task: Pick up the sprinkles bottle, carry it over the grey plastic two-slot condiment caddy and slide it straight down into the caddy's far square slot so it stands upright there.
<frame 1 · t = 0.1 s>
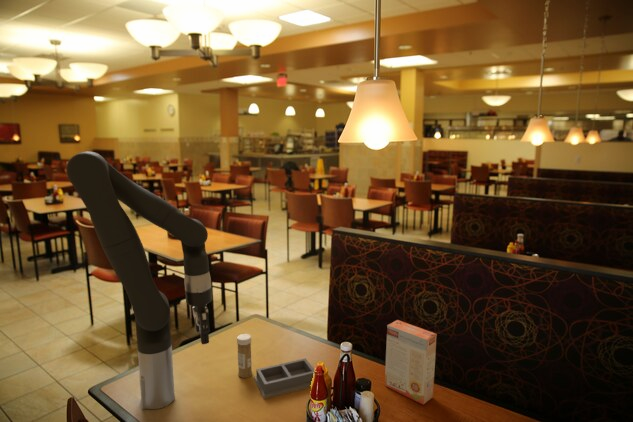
hand: (202, 337, 127), 17 cm above the table, tool pointing down, fingers open, 8 cm apart
sprinkles bottle: (245, 374, 138), on the table
caddy: (286, 382, 134), on the table
cracker box: (408, 392, 130), on the table
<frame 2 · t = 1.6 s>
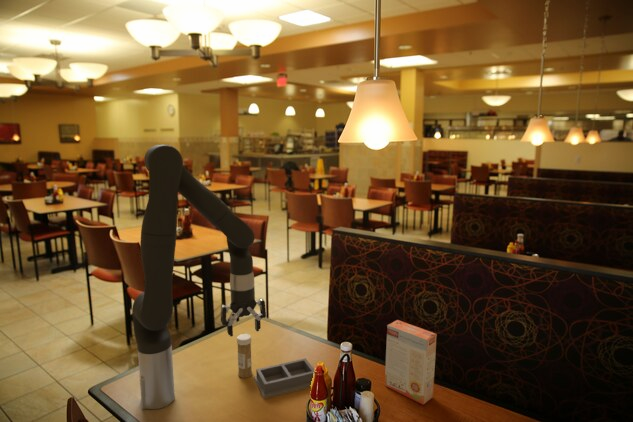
hand: (244, 332, 136), 15 cm above the table, tool pointing down, fingers open, 8 cm apart
nothing on the table moved.
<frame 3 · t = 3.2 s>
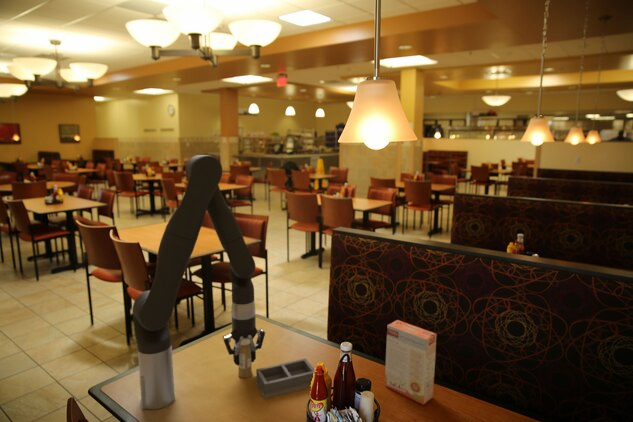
hand: (244, 362, 138), 4 cm above the table, tool pointing down, fingers closed on sprinkles bottle, 4 cm apart
sprinkles bottle: (245, 374, 138), on the table, touching gripper
everything else where it was.
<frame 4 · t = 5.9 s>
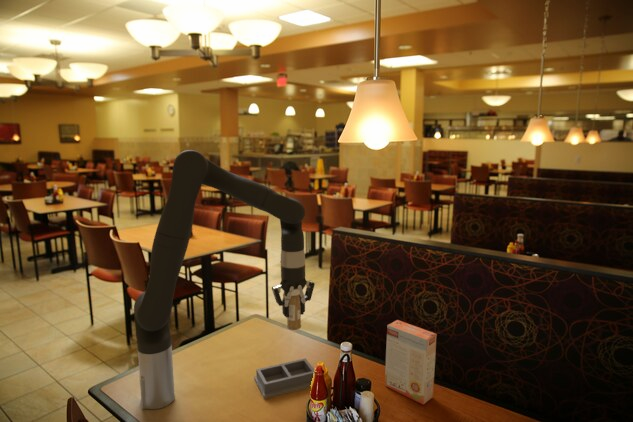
hand: (294, 314, 132), 22 cm above the table, tool pointing down, fingers closed on sprinkles bottle, 4 cm apart
sprinkles bottle: (294, 328, 133), point 17 cm above the table, touching gripper
everything else where it was.
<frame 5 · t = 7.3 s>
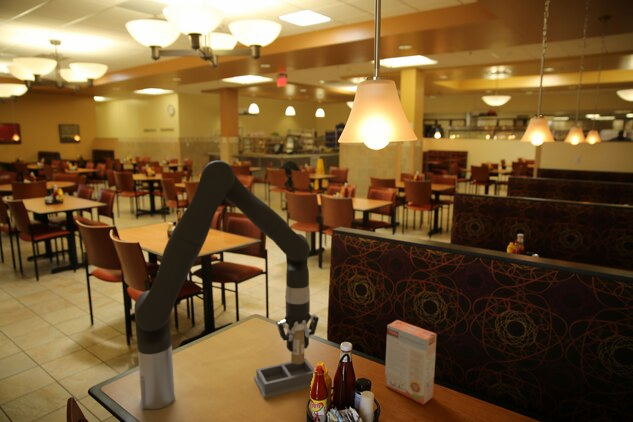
hand: (297, 348, 134), 11 cm above the table, tool pointing down, fingers closed on sprinkles bottle, 4 cm apart
sprinkles bottle: (297, 361, 135), point 6 cm above the table, touching gripper
everything else where it was.
when the fingers open (6 cm above the table, at t = 8.6 s): sprinkles bottle stays where it is, resting on caddy.
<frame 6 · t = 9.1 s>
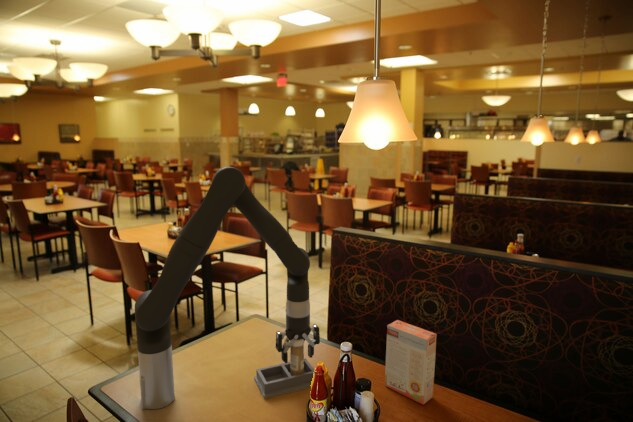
hand: (297, 359, 135), 7 cm above the table, tool pointing down, fingers open, 8 cm apart
sprinkles bottle: (297, 377, 136), point 1 cm above the table, touching caddy
everything else where it was.
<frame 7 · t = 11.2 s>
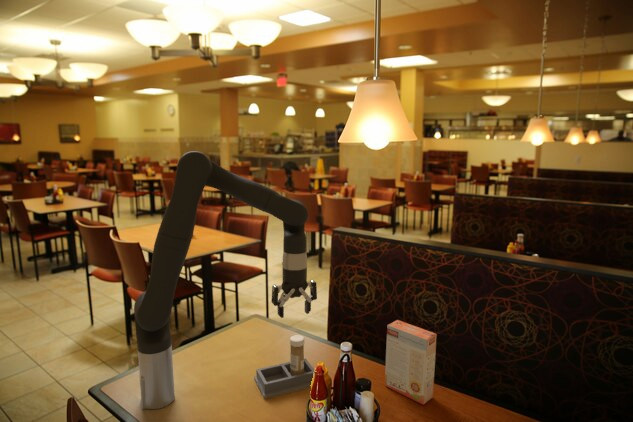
hand: (294, 314, 132), 22 cm above the table, tool pointing down, fingers open, 8 cm apart
nothing on the table moved.
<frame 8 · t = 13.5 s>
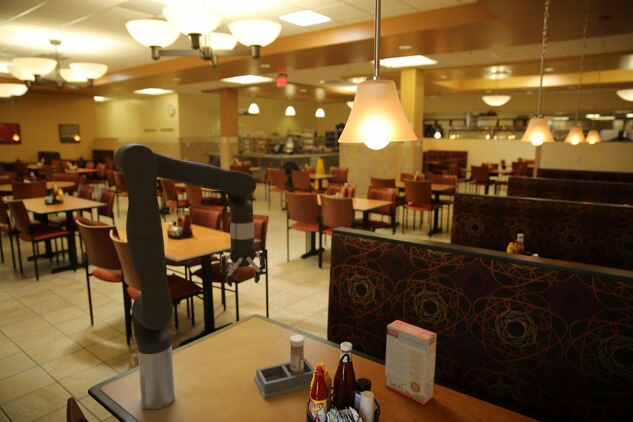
hand: (243, 284, 136), 30 cm above the table, tool pointing down, fingers open, 8 cm apart
nothing on the table moved.
at the end: sprinkles bottle 0.3 cm from the target spot on the caddy, point 0.8 cm above the caddy's base; sprinkles bottle tilted 0°; the gripper is holding nothing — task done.
